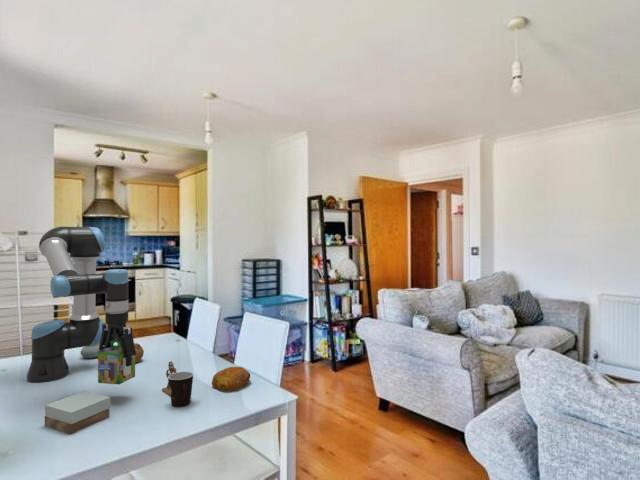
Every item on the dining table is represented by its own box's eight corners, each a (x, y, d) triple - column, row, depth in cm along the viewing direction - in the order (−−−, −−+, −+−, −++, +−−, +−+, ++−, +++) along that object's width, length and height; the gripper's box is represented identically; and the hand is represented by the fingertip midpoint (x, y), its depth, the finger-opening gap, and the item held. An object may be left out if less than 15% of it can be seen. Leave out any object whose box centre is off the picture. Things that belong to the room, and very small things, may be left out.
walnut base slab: (44, 427, 127) (44, 416, 127) (85, 411, 139) (84, 401, 139) (69, 436, 121) (69, 424, 121) (109, 418, 133) (109, 408, 133)
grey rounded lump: (95, 360, 196) (94, 339, 196) (78, 360, 196) (78, 339, 196) (107, 353, 207) (106, 334, 207) (91, 353, 207) (91, 334, 207)
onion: (141, 367, 193) (150, 349, 193) (123, 367, 186) (133, 348, 186) (132, 357, 199) (141, 339, 199) (114, 356, 191) (124, 338, 191)
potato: (255, 387, 165) (257, 367, 166) (232, 395, 151) (234, 373, 152) (227, 381, 171) (229, 361, 172) (202, 388, 157) (204, 367, 158)
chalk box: (119, 385, 142) (119, 343, 141) (96, 383, 144) (96, 342, 143) (136, 376, 151) (136, 337, 150) (114, 374, 153) (114, 335, 152)
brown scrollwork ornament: (161, 390, 156) (161, 360, 155) (171, 388, 158) (171, 357, 158) (171, 397, 149) (170, 365, 149) (181, 394, 152) (181, 362, 152)
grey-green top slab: (45, 416, 127) (45, 405, 127) (84, 401, 139) (84, 391, 139) (71, 424, 121) (71, 412, 121) (110, 407, 133) (110, 397, 133)
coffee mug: (172, 399, 147) (171, 372, 147) (196, 398, 148) (195, 371, 148) (162, 412, 136) (162, 383, 136) (188, 411, 136) (188, 382, 136)
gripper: (87, 310, 149) (88, 369, 149) (128, 316, 138) (128, 380, 138) (106, 307, 155) (106, 364, 156) (146, 313, 145) (146, 374, 145)
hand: (117, 372), depth 147 cm, fingers closed on chalk box, 10 cm apart
